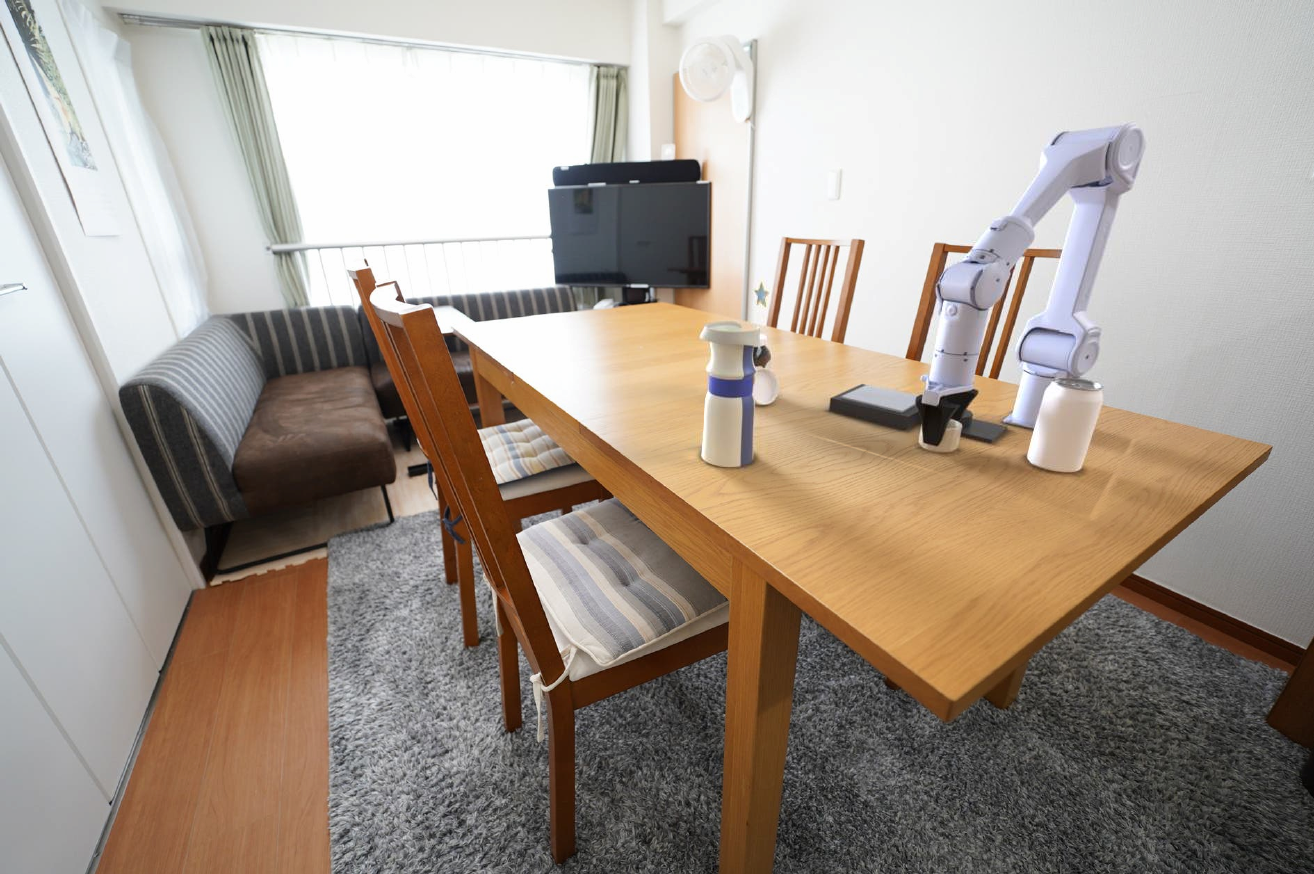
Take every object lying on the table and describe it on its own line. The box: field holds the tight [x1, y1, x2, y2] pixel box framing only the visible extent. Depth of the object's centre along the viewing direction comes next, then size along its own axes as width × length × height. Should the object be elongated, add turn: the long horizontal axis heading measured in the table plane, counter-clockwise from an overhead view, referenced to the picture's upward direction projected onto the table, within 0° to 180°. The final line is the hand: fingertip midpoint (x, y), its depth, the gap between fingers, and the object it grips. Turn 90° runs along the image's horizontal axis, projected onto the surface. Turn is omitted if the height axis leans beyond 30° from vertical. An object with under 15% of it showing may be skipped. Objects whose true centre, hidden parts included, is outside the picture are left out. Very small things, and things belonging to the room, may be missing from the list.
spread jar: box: [753, 333, 780, 406], centre depth 104 cm, size 12×11×12 cm
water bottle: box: [699, 281, 770, 468], centre depth 76 cm, size 8×9×25 cm
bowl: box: [917, 419, 962, 454], centre depth 82 cm, size 5×5×4 cm
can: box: [1026, 378, 1104, 474], centre depth 75 cm, size 6×6×12 cm
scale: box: [828, 383, 921, 432], centre depth 97 cm, size 14×12×3 cm
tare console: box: [960, 408, 1008, 444], centre depth 90 cm, size 10×8×2 cm
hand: (938, 438), depth 83 cm, fingers closed on bowl, 5 cm apart
